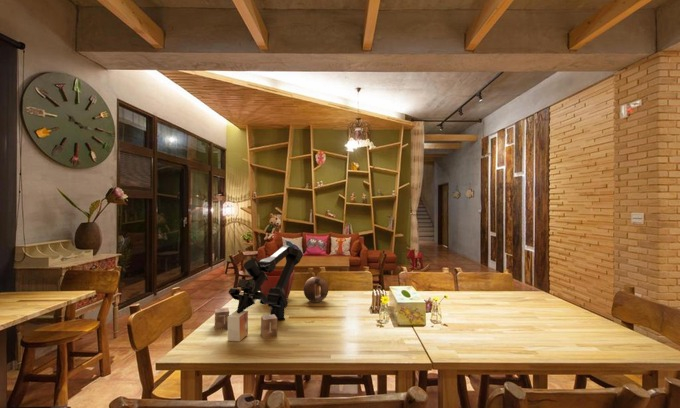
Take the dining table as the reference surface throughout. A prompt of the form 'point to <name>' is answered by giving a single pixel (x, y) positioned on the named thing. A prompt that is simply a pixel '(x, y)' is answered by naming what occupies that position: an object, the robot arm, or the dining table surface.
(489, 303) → the dining table surface
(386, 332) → the dining table surface
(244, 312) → the small box
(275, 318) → the walnut block one
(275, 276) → the plant pot
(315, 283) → the wooden sphere
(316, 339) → the dining table surface
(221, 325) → the walnut block seven
